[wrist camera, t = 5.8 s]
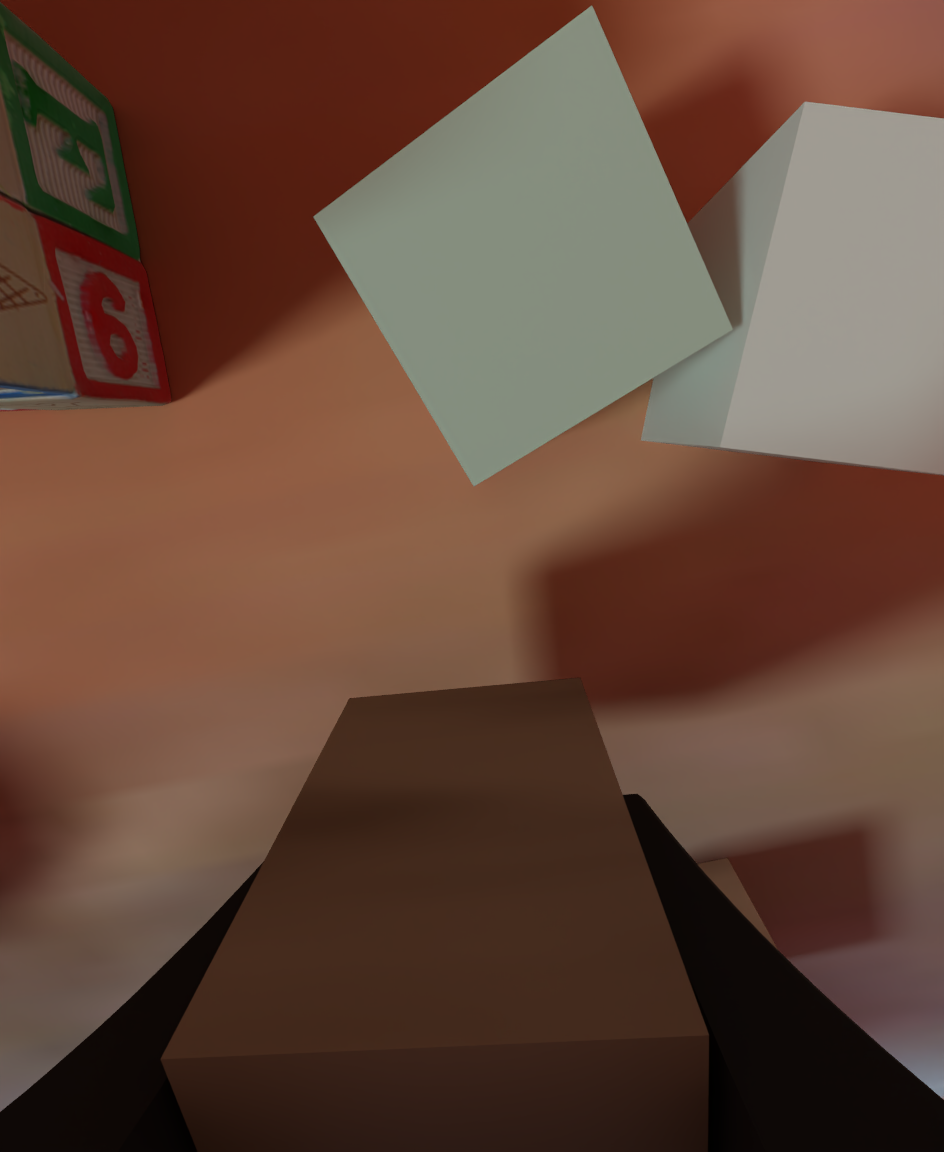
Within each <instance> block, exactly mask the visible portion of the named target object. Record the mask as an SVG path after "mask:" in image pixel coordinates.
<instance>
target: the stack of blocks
mask: <svg viewBox="0 0 944 1152" xmlns="http://www.w3.org/2000/svg"><path fill="white" fill-rule="evenodd" d="M170 402H171V393H170V387H169V382H168V377H167V372H166V367H165V361H164V355H163V350H162V346H161V342H160V337H159V330H158V325H157V321H156V316H155V311H154V306H153V301H152V297H151V292H150V288H149V282H148V277H147V272H146V270H145V268H144V267H143V265H142V263H141V261H140V248H139V242H138V236H137V229H136V224H135V219H134V214H133V209H132V204H131V199H130V194H129V189H128V184H127V179H126V174H125V168H124V163H123V158H122V152H121V147H120V142H119V137H118V131H117V126H116V121H115V116H114V111H113V108H112V106H111V104H110V102H109V100H108V99H107V98H106V97H105V96H104V95H103V94H102V93H101V92H100V91H99V90H97V89H96V88H95V87H94V86H93V85H92V84H91V83H90V82H88V81H87V80H86V79H85V78H84V77H83V76H82V75H81V74H80V73H79V72H78V71H77V70H76V69H75V68H73V67H72V66H71V65H70V64H69V63H68V62H67V61H66V60H65V59H64V58H62V57H61V56H60V55H59V54H58V53H57V52H56V51H55V50H54V49H53V48H52V47H51V46H50V45H49V44H47V43H46V42H45V41H44V40H43V39H42V38H41V37H40V36H39V35H38V34H36V33H35V32H34V31H33V30H32V29H31V28H30V27H28V26H27V25H26V24H25V23H24V22H23V21H22V20H20V19H19V18H18V17H17V16H16V15H15V14H13V13H12V12H11V11H10V10H9V9H8V8H7V7H5V6H4V5H3V4H2V3H1V2H0V411H20V410H69V409H93V408H116V407H139V406H162V405H165V404H168V403H170Z"/></svg>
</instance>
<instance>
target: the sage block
mask: <svg viewBox="0 0 944 1152" xmlns="http://www.w3.org/2000/svg"><path fill="white" fill-rule="evenodd" d="M313 217H314V219H315V221H316V222H317V224H318V226H319V228H320V229H321V231H322V233H323V234H324V236H325V238H326V239H327V241H328V243H329V244H330V246H331V248H332V249H333V251H334V253H335V254H336V256H337V258H338V259H339V261H340V263H341V264H342V266H343V268H344V269H345V271H346V273H347V274H348V276H349V278H350V280H351V281H352V283H353V285H354V286H355V288H356V290H357V291H358V293H359V295H360V296H361V298H362V300H363V301H364V303H365V305H366V306H367V308H368V310H369V311H370V313H371V315H372V316H373V318H374V320H375V321H376V323H377V325H378V326H379V328H380V330H381V332H382V333H383V335H384V337H385V338H386V340H387V342H388V343H389V345H390V347H391V348H392V350H393V352H394V353H395V355H396V357H397V358H398V360H399V362H400V363H401V365H402V367H403V368H404V370H405V372H406V373H407V375H408V377H409V379H410V380H411V382H412V384H413V385H414V387H415V389H416V390H417V392H418V394H419V395H420V397H421V399H422V400H423V402H424V404H425V405H426V407H427V409H428V410H429V412H430V414H431V415H432V417H433V419H434V420H435V422H436V424H437V425H438V427H439V429H440V431H441V432H442V434H443V436H444V437H445V439H446V441H447V442H448V444H449V446H450V447H451V449H452V451H453V452H454V454H455V456H456V457H457V459H458V461H459V462H460V464H461V466H462V467H463V469H464V471H465V472H466V474H467V476H468V478H469V479H470V481H471V483H472V484H473V486H475V485H477V484H479V483H480V482H482V481H484V480H485V479H487V478H489V477H490V476H492V475H494V474H495V473H497V472H499V471H500V470H502V469H504V468H505V467H507V466H508V465H510V464H512V463H513V462H515V461H517V460H518V459H520V458H522V457H523V456H525V455H527V454H528V453H530V452H532V451H533V450H535V449H537V448H538V447H540V446H541V445H543V444H545V443H546V442H548V441H550V440H551V439H553V438H555V437H556V436H558V435H560V434H561V433H563V432H565V431H566V430H568V429H570V428H571V427H573V426H574V425H576V424H578V423H579V422H581V421H583V420H584V419H586V418H588V417H589V416H591V415H593V414H594V413H596V412H598V411H599V410H601V409H603V408H604V407H606V406H607V405H609V404H611V403H612V402H614V401H616V400H617V399H619V398H621V397H622V396H624V395H626V394H627V393H629V392H631V391H632V390H634V389H636V388H637V387H639V386H640V385H642V384H644V383H645V382H647V381H649V380H650V379H652V378H654V377H655V376H657V375H659V374H660V373H662V372H664V371H665V370H667V369H669V368H670V367H672V366H673V365H675V364H677V363H678V362H680V361H682V360H683V359H685V358H687V357H688V356H690V355H692V354H693V353H695V352H697V351H698V350H700V349H702V348H703V347H705V346H706V345H708V344H710V343H711V342H713V341H715V340H716V339H718V338H720V337H721V336H723V335H725V334H726V333H728V332H730V331H731V330H733V328H732V326H731V324H730V322H729V319H728V317H727V315H726V312H725V310H724V308H723V305H722V303H721V301H720V298H719V296H718V294H717V292H716V289H715V287H714V285H713V282H712V280H711V278H710V275H709V273H708V271H707V269H706V266H705V264H704V262H703V259H702V257H701V255H700V252H699V250H698V248H697V246H696V243H695V241H694V239H693V236H692V234H691V232H690V229H689V227H688V225H687V223H686V220H685V218H684V216H683V213H682V211H681V209H680V206H679V204H678V202H677V200H676V197H675V195H674V193H673V190H672V188H671V186H670V183H669V181H668V179H667V177H666V174H665V172H664V170H663V167H662V165H661V163H660V160H659V158H658V156H657V154H656V151H655V149H654V147H653V144H652V142H651V140H650V137H649V135H648V133H647V131H646V128H645V126H644V124H643V121H642V119H641V117H640V114H639V112H638V110H637V108H636V105H635V103H634V101H633V98H632V96H631V94H630V91H629V89H628V87H627V85H626V82H625V80H624V78H623V75H622V73H621V71H620V68H619V66H618V64H617V61H616V59H615V57H614V55H613V52H612V50H611V48H610V45H609V43H608V41H607V38H606V36H605V34H604V32H603V29H602V27H601V25H600V22H599V20H598V18H597V15H596V13H595V11H594V9H593V6H590V7H589V8H588V9H586V10H585V11H584V12H582V13H581V14H580V15H578V16H577V17H576V18H574V19H573V20H572V21H571V22H569V23H568V24H567V25H565V26H564V27H563V28H561V29H560V30H559V31H557V32H556V33H555V34H553V35H552V36H551V37H549V38H548V39H547V40H545V41H544V42H543V43H542V44H540V45H539V46H538V47H536V48H535V49H534V50H532V51H531V52H530V53H528V54H527V55H526V56H524V57H523V58H522V59H520V60H519V61H518V62H516V63H515V64H514V65H513V66H511V67H510V68H509V69H507V70H506V71H505V72H503V73H502V74H501V75H499V76H498V77H497V78H495V79H494V80H493V81H491V82H490V83H489V84H487V85H486V86H485V87H484V88H482V89H481V90H480V91H478V92H477V93H476V94H474V95H473V96H472V97H470V98H469V99H468V100H466V101H465V102H464V103H462V104H461V105H460V106H458V107H457V108H456V109H455V110H453V111H452V112H451V113H449V114H448V115H447V116H445V117H444V118H443V119H441V120H440V121H439V122H437V123H436V124H435V125H433V126H432V127H431V128H429V129H428V130H427V131H426V132H424V133H423V134H422V135H420V136H419V137H418V138H416V139H415V140H414V141H412V142H411V143H410V144H408V145H407V146H406V147H404V148H403V149H402V150H400V151H399V152H398V153H397V154H395V155H394V156H393V157H391V158H390V159H389V160H387V161H386V162H385V163H383V164H382V165H381V166H379V167H378V168H377V169H375V170H374V171H373V172H371V173H370V174H369V175H367V176H366V177H365V178H364V179H362V180H361V181H360V182H358V183H357V184H356V185H354V186H353V187H352V188H350V189H349V190H348V191H346V192H345V193H344V194H342V195H341V196H340V197H338V198H337V199H336V200H335V201H333V202H332V203H331V204H329V205H328V206H327V207H325V208H324V209H323V210H321V211H320V212H319V213H317V214H316V215H315V216H313Z"/></svg>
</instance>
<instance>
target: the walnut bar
mask: <svg viewBox="0 0 944 1152" xmlns="http://www.w3.org/2000/svg"><path fill="white" fill-rule="evenodd" d="M161 1062H162V1064H163V1067H164V1069H165V1072H166V1074H167V1077H168V1079H169V1082H170V1084H171V1087H172V1089H173V1092H174V1094H175V1097H176V1099H177V1102H178V1104H179V1107H180V1109H181V1112H182V1114H183V1117H184V1119H185V1122H186V1124H187V1127H188V1129H189V1132H190V1134H191V1137H192V1139H193V1142H194V1144H195V1147H196V1149H197V1152H708V1096H709V1034H708V1031H707V1028H706V1025H705V1022H704V1020H703V1017H702V1014H701V1011H700V1009H699V1006H698V1003H697V1000H696V998H695V995H694V992H693V989H692V986H691V984H690V981H689V978H688V975H687V973H686V970H685V967H684V964H683V961H682V959H681V956H680V953H679V950H678V948H677V945H676V942H675V939H674V936H673V934H672V931H671V928H670V925H669V923H668V920H667V917H666V914H665V912H664V909H663V906H662V903H661V900H660V898H659V895H658V892H657V889H656V887H655V884H654V881H653V878H652V875H651V873H650V870H649V867H648V864H647V862H646V859H645V856H644V853H643V851H642V848H641V845H640V842H639V839H638V837H637V834H636V831H635V828H634V826H633V823H632V820H631V817H630V814H629V812H628V809H627V806H626V803H625V801H624V798H623V795H622V792H621V789H620V787H619V784H618V781H617V778H616V776H615V773H614V770H613V767H612V765H611V762H610V759H609V756H608V753H607V751H606V748H605V745H604V742H603V740H602V737H601V734H600V731H599V728H598V726H597V723H596V720H595V717H594V715H593V712H592V709H591V706H590V704H589V701H588V698H587V695H586V692H585V690H584V687H583V684H582V681H581V679H580V678H570V679H559V680H548V681H537V682H526V683H515V684H504V685H493V686H482V687H470V688H459V689H448V690H437V691H426V692H415V693H404V694H393V695H382V696H370V697H359V698H349V700H348V702H347V704H346V706H345V708H344V710H343V712H342V714H341V715H340V717H339V719H338V721H337V723H336V725H335V727H334V729H333V731H332V733H331V735H330V736H329V738H328V740H327V742H326V744H325V746H324V748H323V750H322V752H321V754H320V756H319V757H318V759H317V761H316V763H315V765H314V767H313V769H312V771H311V773H310V775H309V777H308V778H307V780H306V782H305V784H304V786H303V788H302V790H301V792H300V794H299V796H298V798H297V800H296V801H295V803H294V805H293V807H292V809H291V811H290V813H289V815H288V817H287V819H286V821H285V822H284V824H283V826H282V828H281V830H280V832H279V834H278V836H277V838H276V840H275V842H274V843H273V845H272V847H271V849H270V851H269V853H268V855H267V857H266V859H265V861H264V863H263V864H262V866H261V868H260V870H259V872H258V874H257V876H256V878H255V880H254V882H253V884H252V885H251V887H250V889H249V891H248V893H247V895H246V897H245V899H244V901H243V903H242V905H241V906H240V908H239V910H238V912H237V914H236V916H235V918H234V920H233V922H232V924H231V926H230V927H229V929H228V931H227V933H226V935H225V937H224V939H223V941H222V943H221V945H220V947H219V948H218V950H217V952H216V954H215V956H214V958H213V960H212V962H211V964H210V966H209V968H208V969H207V971H206V973H205V975H204V977H203V979H202V981H201V983H200V985H199V987H198V989H197V990H196V992H195V994H194V996H193V998H192V1000H191V1002H190V1004H189V1006H188V1008H187V1010H186V1011H185V1013H184V1015H183V1017H182V1019H181V1021H180V1023H179V1025H178V1027H177V1029H176V1031H175V1032H174V1034H173V1036H172V1038H171V1040H170V1042H169V1044H168V1046H167V1048H166V1050H165V1052H164V1053H163V1055H162V1057H161Z"/></svg>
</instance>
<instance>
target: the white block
mask: <svg viewBox="0 0 944 1152" xmlns="http://www.w3.org/2000/svg"><path fill="white" fill-rule="evenodd" d="M687 225H688V227H689V229H690V232H691V234H692V236H693V239H694V241H695V243H696V246H697V248H698V250H699V252H700V255H701V257H702V259H703V262H704V264H705V266H706V269H707V271H708V273H709V275H710V278H711V280H712V282H713V285H714V287H715V289H716V292H717V294H718V296H719V298H720V301H721V303H722V305H723V308H724V310H725V312H726V315H727V317H728V319H729V322H730V324H731V326H732V328H733V330H731V331H730V332H728V333H726V334H725V335H723V336H721V337H720V338H718V339H716V340H715V341H713V342H711V343H710V344H708V345H706V346H705V347H703V348H702V349H700V350H698V351H697V352H695V353H693V354H692V355H690V356H688V357H687V358H685V359H683V360H682V361H680V362H678V363H677V364H675V365H673V366H672V367H670V368H669V369H667V370H665V371H664V372H662V373H660V374H659V375H657V376H655V377H654V379H653V384H652V388H651V393H650V398H649V403H648V408H647V413H646V418H645V423H644V428H643V433H642V438H641V440H642V441H650V442H658V443H666V444H675V445H683V446H691V447H699V448H707V449H715V450H724V451H732V452H740V453H748V454H756V455H765V456H773V457H781V458H789V459H797V460H806V461H814V462H822V463H831V464H840V465H849V466H859V467H868V468H877V469H887V470H896V471H906V472H915V473H924V474H934V475H943V476H944V119H943V118H935V117H927V116H918V115H910V114H902V113H894V112H886V111H877V110H869V109H861V108H853V107H845V106H836V105H828V104H820V103H812V102H804V103H803V104H802V105H801V106H800V107H799V108H798V109H797V110H796V111H795V113H794V114H793V115H792V116H791V117H790V118H789V119H788V120H787V121H786V122H785V123H784V124H783V125H782V126H781V127H780V128H779V129H778V130H777V131H776V132H775V133H774V134H773V135H772V136H771V137H770V138H769V139H768V140H767V142H766V143H765V144H764V145H763V146H762V147H761V148H760V149H759V150H758V151H757V152H756V153H755V154H754V155H753V156H752V157H751V158H750V159H749V160H748V161H747V162H746V163H745V164H744V165H743V166H742V167H741V168H740V169H739V170H738V172H737V173H736V174H735V175H734V176H733V177H732V178H731V179H730V180H729V181H728V182H727V183H726V184H725V185H724V186H723V187H722V188H721V189H720V190H719V191H718V192H717V193H716V194H715V195H714V196H713V197H712V198H711V199H710V200H709V202H708V203H707V204H706V205H705V206H704V207H703V208H702V209H701V210H700V211H699V212H698V213H697V214H696V215H695V216H694V217H693V218H692V219H691V220H690V221H689V222H688V223H687Z"/></svg>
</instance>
